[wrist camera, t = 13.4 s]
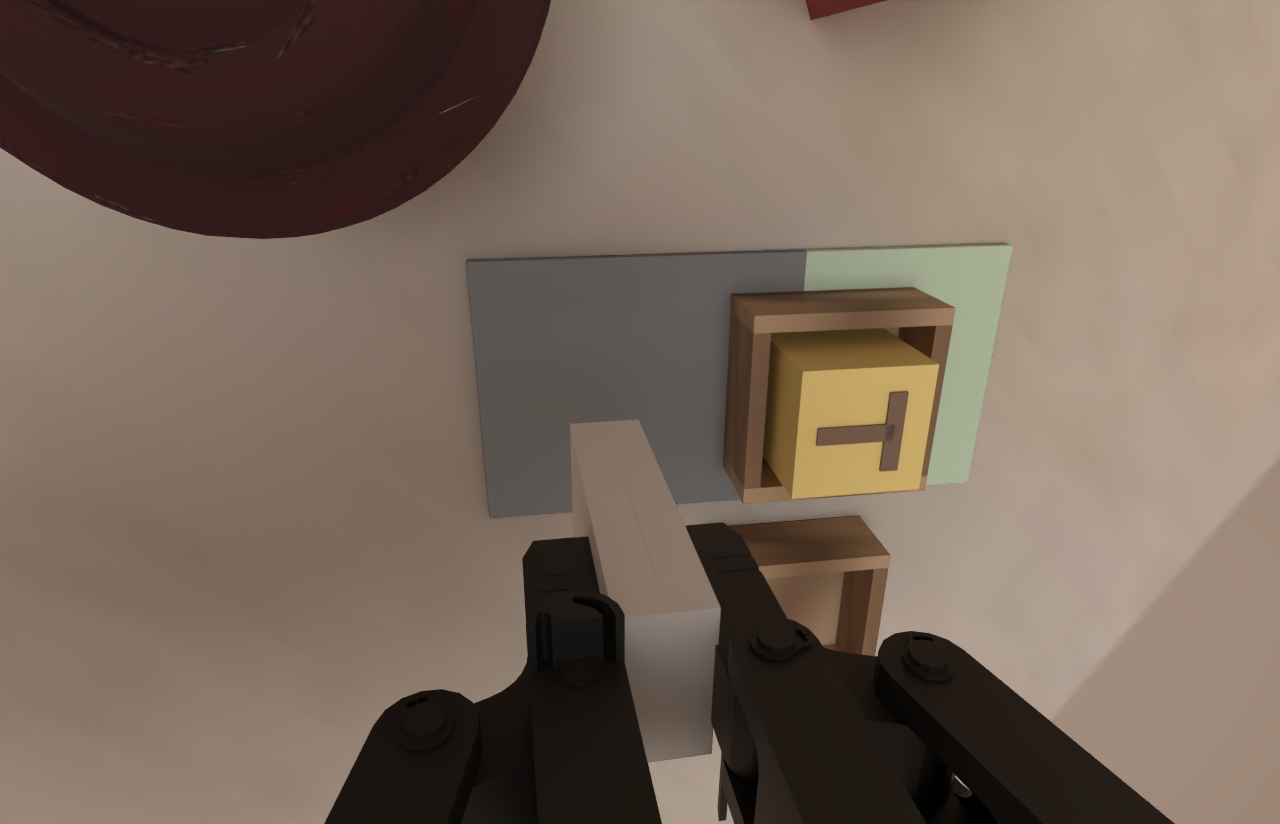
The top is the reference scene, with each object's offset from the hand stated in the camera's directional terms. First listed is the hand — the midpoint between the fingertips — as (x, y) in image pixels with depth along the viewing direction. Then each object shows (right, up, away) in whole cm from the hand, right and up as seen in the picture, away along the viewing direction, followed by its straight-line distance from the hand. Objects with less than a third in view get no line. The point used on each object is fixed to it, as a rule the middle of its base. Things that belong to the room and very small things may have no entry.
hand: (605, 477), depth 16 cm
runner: (+5, +3, +12) cm, 14 cm away
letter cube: (+7, +3, +12) cm, 14 cm away
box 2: (+7, -6, +17) cm, 19 cm away
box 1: (+7, +3, +12) cm, 15 cm away
